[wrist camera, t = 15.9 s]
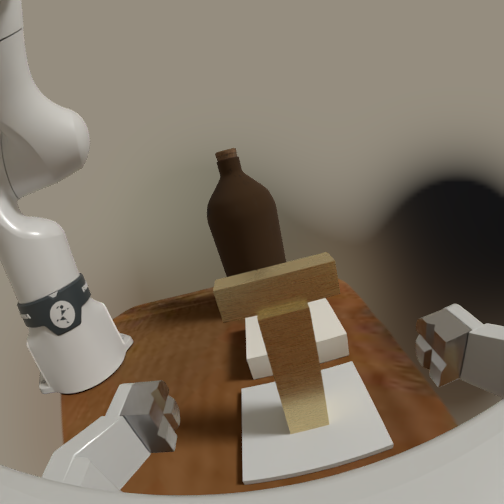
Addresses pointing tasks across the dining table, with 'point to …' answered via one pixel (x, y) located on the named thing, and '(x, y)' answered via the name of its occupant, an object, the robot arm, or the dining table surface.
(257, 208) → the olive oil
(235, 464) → the dining table surface
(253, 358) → the socket block
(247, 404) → the white mat
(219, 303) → the t key
